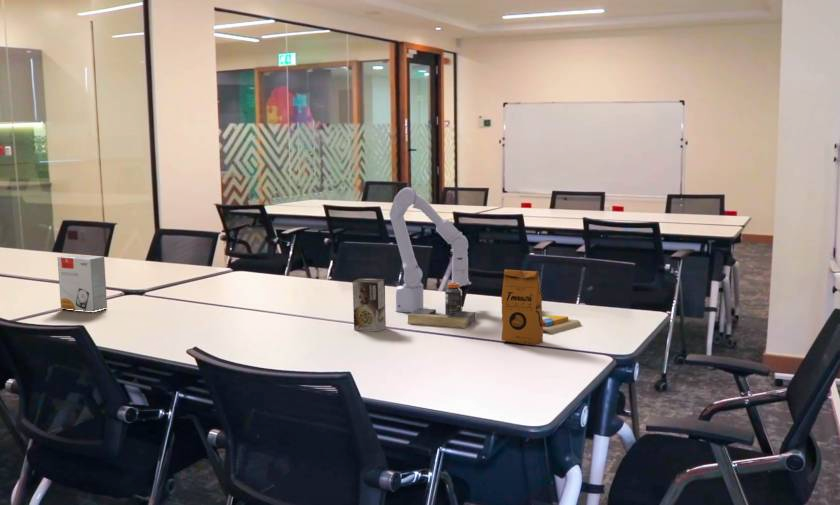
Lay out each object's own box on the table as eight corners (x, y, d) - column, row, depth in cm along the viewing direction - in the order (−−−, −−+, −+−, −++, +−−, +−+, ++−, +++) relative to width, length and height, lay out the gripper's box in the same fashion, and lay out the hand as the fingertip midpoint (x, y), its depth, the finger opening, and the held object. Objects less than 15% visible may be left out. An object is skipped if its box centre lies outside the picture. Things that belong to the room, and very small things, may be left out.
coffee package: (536, 348, 235) (537, 274, 232) (496, 343, 241) (497, 271, 238) (547, 340, 244) (548, 269, 241) (509, 336, 250) (509, 266, 247)
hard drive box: (60, 310, 294) (56, 256, 292) (76, 306, 302) (72, 254, 299) (92, 313, 289) (89, 258, 286) (108, 309, 296) (105, 256, 293)
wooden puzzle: (536, 318, 277) (536, 308, 276) (582, 327, 263) (582, 316, 263) (503, 326, 265) (503, 316, 264) (550, 336, 251) (550, 325, 251)
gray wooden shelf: (407, 323, 268) (407, 314, 268) (420, 316, 279) (420, 308, 278) (464, 328, 261) (465, 319, 261) (475, 320, 272) (475, 312, 271)
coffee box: (386, 327, 263) (385, 278, 261) (379, 331, 257) (378, 282, 255) (360, 325, 266) (359, 277, 264) (352, 330, 260) (351, 280, 258)
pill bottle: (465, 314, 282) (465, 282, 281) (457, 317, 277) (456, 285, 276) (450, 312, 285) (450, 281, 284) (442, 315, 281) (441, 283, 279)
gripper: (464, 273, 278) (464, 311, 280) (476, 267, 291) (476, 303, 293) (445, 272, 280) (445, 310, 282) (458, 266, 294) (458, 302, 296)
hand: (460, 307), depth 288 cm, fingers closed
